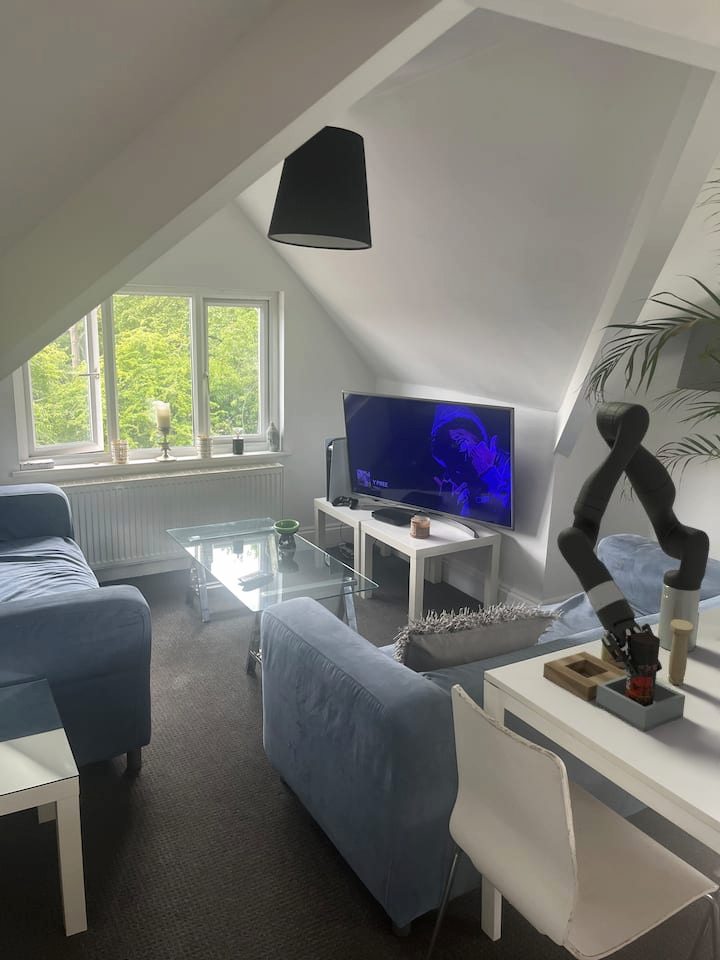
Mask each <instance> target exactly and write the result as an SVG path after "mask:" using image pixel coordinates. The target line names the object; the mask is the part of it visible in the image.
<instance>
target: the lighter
mask: <svg viewBox="0 0 720 960" xmlns="http://www.w3.org/2000/svg"><path fill="white" fill-rule="evenodd" d="M608 634H609V631H608V630H605V631H603V634H602V635H603V636H602V638H604V637H605V636H607V635H608ZM615 652H616V650H615ZM600 654H601V655H600V659H601V660H603V661H605V662H607V663H609V664H611V665H613V666H615V667H617V668H619V669H627V667H626V665H625V664H624V663H622V662H618V663H617V662H615V660H614V659H613V657H612V656H611V654H610V653H609V651H608V650H607V648H606V647H605V646H604V644H603V643H602V642H601V653H600ZM616 654H617V655H618V653H617V652H616Z"/></svg>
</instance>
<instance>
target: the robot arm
mask: <svg viewBox="0 0 720 960" xmlns="http://www.w3.org/2000/svg"><path fill="white" fill-rule="evenodd" d="M596 412H597V413H596V415H595V417H596V419H595V420H596V423H595V424H596V427H597V430H598V433H599V434H600V436H601V438H602V439H603V441H604V442H605V443H606V445H607V446H608V447H609V449H610V452H609V453H608V455H607V456H606V457H605V458H604V460H603V461H601V463H600V464H599V465H598V466H597V467H596V468H595V469H594V470H593V471H592V472H591V473H590V474H589V476H588V477H587V478H586V479H585V480H584V483H583V484H582V486H581V488H580V491H579V493H578V496H577V498H576V501H575V504H574V506H573V510H572V514H573V516H574V520H573V522H572V526H571V527H565V528H563V529H562V530H561V531H560V532H559V534H558V536H557V541H556V542H557V547H558V550H559V552H560V554H561V555H562V557H563V559H564V560H565V561H566V563H567V564H568V565H569V567H570V568H571V570H572V571H573V572H574V574H575V575H576V577H577V579H578V581H579V583H580V585H581V587H582V588H583V590H584V592H585V594H586V596H587V598H588V602H589V604H590V605H591V607H592V609H593V611H594V613H595V614H596V616H597V618H598V620H599V622H600V623H601V626H602V628H603V630H605V631H609V634H608V635H607V636H605V637H604V638H603V637H602V638H601V639H600V640H601V644H602V643H603V644H604V646H605V647H606V648H607V650H608V651H609V653H610V654H611V656H612V657H613V659H614V660H615V662H617V663H618V662H622V663H624V664H625V665H626V667H627V668H626V669H627V671H628V670H629V672H630V674H631V675H632V677H633V678H634V679H637V678H639V677H641V676H642V672H641V670H640V668H639V667H638V665H637V663H636V661H635V660H632V659H633V656H632V652H631V635H632V634H634V633H648V634H652V635H654V636H655V634H654V632H653V630H652V627H651V626H650V624H649V623H647V622H646V623H645V624H643V625H639V624H638V623H637V622H636V620H635V617H636V614H635V612H634V611H633V609H632V607H631V605H630V604H629V602H628V600H627V597H625V595H624V593H623V591H622V590H621V588H620V587H619V585H618V584H617V583H616V581H615V580H614V578H613V576H612V574H611V573H610V570H609V569H608V567H607V566H606V565H605V564H604V563H603V562H602V560H600V559H599V558H598V556H597V554H596V552H595V551H594V549H595V547H596V545H597V541H598V537H599V534H600V533H599V532H600V528H601V523H602V519H603V517H604V515H605V513H606V510H607V507H608V504H609V503H610V501H611V497H612V495H613V492H614V490H615V487H616V486H617V484H618V482H619V481H620V479H621V476H622V474H625V475H626V477H627V478H628V481H629V483H630V486H631V488H632V489H633V491H634V492H635V495H636V497H637V499H638V501H639V502H640V504H641V505H642V507H643V509H644V512H645V514H646V516H647V517H648V519H649V522H650V523H651V525H652V528H653V531H654V533H655V537H656V539H657V542H658V545H659V546H660V548H661V550H662V552H663V553H665V555H666V556H668V557H671V558H673V559H675V560H679V561H680V565H679V569H671V570H667V571H666V572H665V573H664V575H663V582H662V589H661V590H662V591H661V599H660V609H659V610H660V611H659V621H658V627H657V628H658V631H657V637H658V638H659V639H660V645H659V647H661V648H664V649H666V650H668V651H671V646H672V640H673V631H671V629H670V624H671V621H672V620H674V619H679V620H685V621H688V622H690V623H691V624H692V625H693V632H692V633H691V634H689V635H688V646H687V653H688V652H691V651H693V650H694V649H695V646H696V645H697V639H698V629H699V620H700V612H699V607H700V595H701V587H702V583H703V580H704V578H705V575H706V570H707V563H708V559H709V552H710V547H711V546H710V545H711V544H710V543H711V542H710V538H709V535H708V533H707V532H706V531H704V530H703V529H702V530H701V529H698V528H696V527H693V526H690V525H689V526H688V525H685V524H682V523H681V521H680V520H679V518H678V517H677V516H676V514H675V511H674V509H673V507H674V503H675V500H676V495H677V490H676V489H677V488H676V486H675V483H674V481H673V479H672V477H671V475H670V473H669V471H668V469H667V468H666V466H665V465H664V464H663V463H662V462H661V461H660V460H659V459H658V458H657V457H656V456H655V455H654V454H653V453H651V452H650V451H649V450H648V449H647V448H645V446H644V445H643V444H641V443H642V441H644V438H645V436H646V435H647V432H648V429H649V426H650V420H651V419H650V413H649V411H648V410H647V408H646V407H645V406H644V405H641V404H638V403H632V402H624V401H623V402H622V401H608V402H605V403H603V404H602V405H601V406H600V407H599V408H598V410H597V411H596ZM615 650H616V652H617V653H618V655H617V654H616V652H615ZM662 669H663V665H662V663H661V661H660V660H659V658H658V664H657V673H658V672H659V671H660V672H661V670H662Z"/></svg>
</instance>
